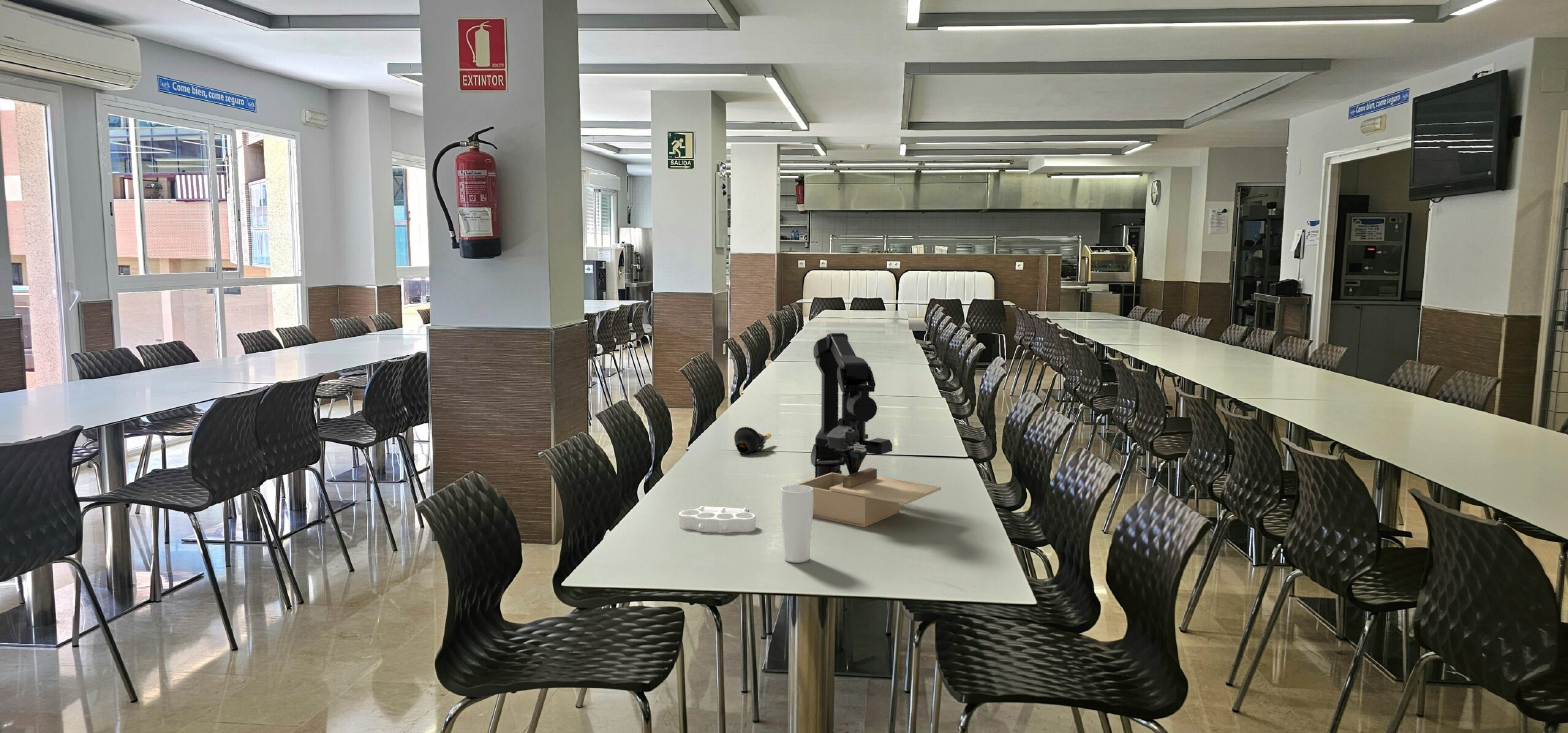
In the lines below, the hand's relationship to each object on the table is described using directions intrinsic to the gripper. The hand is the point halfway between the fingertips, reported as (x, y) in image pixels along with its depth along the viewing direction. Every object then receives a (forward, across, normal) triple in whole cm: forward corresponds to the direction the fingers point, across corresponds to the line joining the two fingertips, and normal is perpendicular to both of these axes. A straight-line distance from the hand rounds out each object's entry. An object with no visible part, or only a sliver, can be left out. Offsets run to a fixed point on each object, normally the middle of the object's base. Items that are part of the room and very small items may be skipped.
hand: (852, 477), depth 224 cm
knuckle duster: (+10, -20, -27) cm, 35 cm away
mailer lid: (+2, +9, 0) cm, 9 cm away
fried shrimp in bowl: (+9, -65, +43) cm, 78 cm away
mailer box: (+9, -2, 0) cm, 9 cm away
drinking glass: (+9, +10, -36) cm, 38 cm away
